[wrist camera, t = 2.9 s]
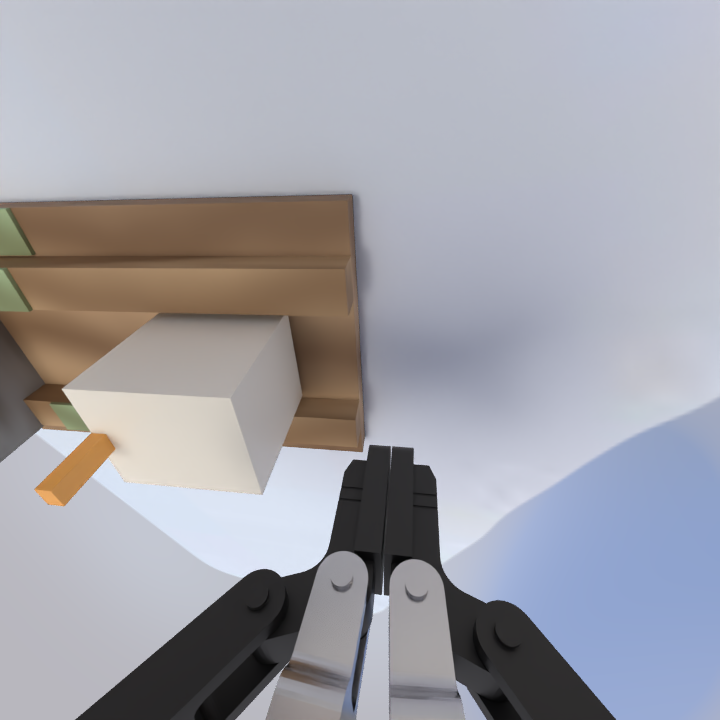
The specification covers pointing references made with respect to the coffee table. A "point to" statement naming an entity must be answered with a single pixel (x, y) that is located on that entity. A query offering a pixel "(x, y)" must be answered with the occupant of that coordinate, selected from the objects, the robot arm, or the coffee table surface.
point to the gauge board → (192, 235)
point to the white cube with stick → (186, 405)
